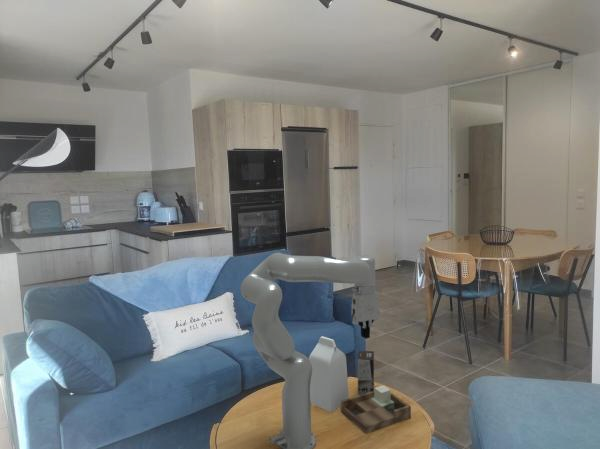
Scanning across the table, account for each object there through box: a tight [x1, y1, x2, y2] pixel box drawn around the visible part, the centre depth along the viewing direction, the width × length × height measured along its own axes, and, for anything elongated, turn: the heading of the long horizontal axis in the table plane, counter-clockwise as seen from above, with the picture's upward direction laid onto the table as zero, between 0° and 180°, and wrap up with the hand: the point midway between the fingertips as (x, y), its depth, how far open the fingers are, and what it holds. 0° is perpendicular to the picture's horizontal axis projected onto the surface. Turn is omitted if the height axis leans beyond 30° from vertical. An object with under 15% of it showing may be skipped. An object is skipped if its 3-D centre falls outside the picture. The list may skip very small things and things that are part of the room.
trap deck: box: [340, 391, 412, 434], centre depth 166 cm, size 20×16×4 cm
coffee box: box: [357, 350, 375, 396], centre depth 182 cm, size 9×6×16 cm
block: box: [374, 384, 392, 403], centre depth 173 cm, size 4×4×4 cm
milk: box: [308, 335, 350, 413], centre depth 176 cm, size 12×12×26 cm
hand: (365, 336), depth 166 cm, fingers closed
